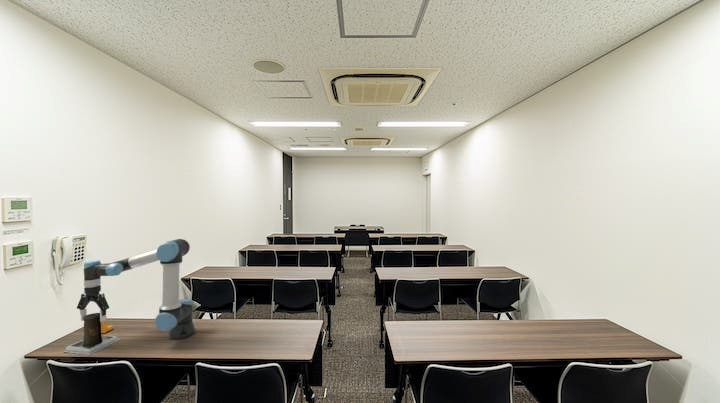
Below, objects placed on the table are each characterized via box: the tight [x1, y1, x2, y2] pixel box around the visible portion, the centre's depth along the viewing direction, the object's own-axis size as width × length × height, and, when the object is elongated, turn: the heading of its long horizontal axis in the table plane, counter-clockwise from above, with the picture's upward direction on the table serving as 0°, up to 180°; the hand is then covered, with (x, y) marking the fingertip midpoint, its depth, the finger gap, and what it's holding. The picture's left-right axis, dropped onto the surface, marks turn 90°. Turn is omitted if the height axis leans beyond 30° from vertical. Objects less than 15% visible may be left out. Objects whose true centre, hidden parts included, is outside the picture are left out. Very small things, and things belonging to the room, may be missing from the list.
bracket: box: [101, 320, 114, 334], centre depth 198 cm, size 11×7×12 cm, turn 92°
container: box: [82, 312, 103, 348], centre depth 178 cm, size 9×9×18 cm
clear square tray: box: [62, 334, 120, 356], centre depth 178 cm, size 18×18×3 cm
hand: (93, 320), depth 178 cm, fingers open, 13 cm apart
